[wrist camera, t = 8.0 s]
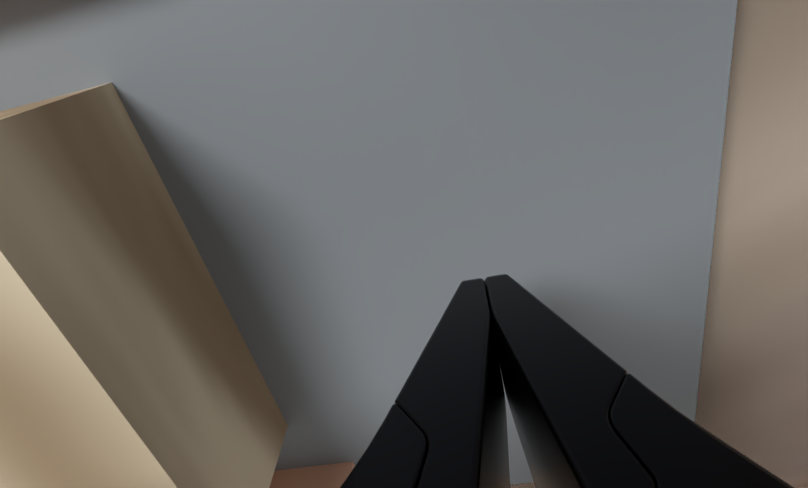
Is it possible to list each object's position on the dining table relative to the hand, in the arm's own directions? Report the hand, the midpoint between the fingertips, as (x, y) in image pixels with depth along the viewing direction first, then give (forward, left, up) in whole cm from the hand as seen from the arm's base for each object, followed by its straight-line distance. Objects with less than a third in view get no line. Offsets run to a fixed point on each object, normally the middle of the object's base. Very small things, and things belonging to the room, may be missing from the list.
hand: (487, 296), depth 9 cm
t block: (+10, 0, -2) cm, 11 cm away
